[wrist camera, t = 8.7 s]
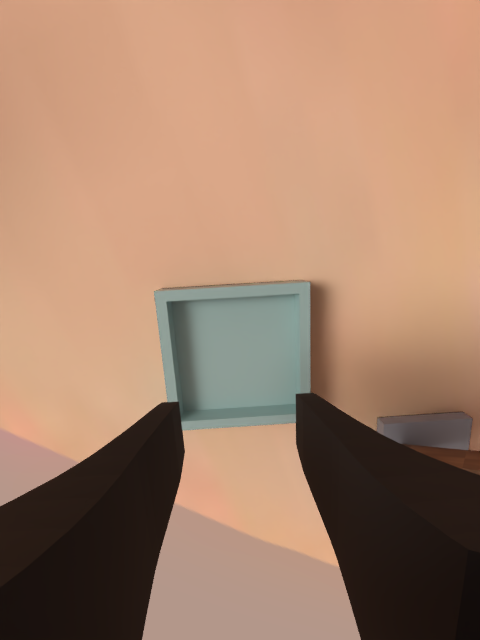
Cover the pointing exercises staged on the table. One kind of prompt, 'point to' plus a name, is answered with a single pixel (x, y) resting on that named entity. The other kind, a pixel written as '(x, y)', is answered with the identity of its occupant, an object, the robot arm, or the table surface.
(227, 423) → the tray
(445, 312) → the table surface
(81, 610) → the robot arm
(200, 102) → the table surface
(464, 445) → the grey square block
